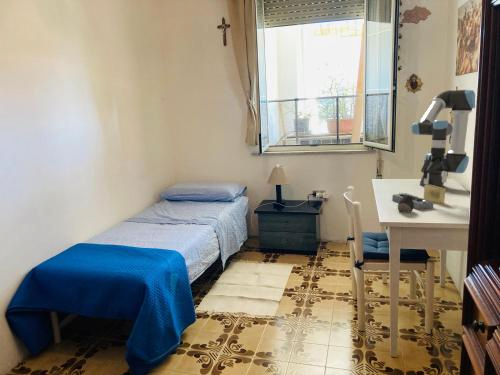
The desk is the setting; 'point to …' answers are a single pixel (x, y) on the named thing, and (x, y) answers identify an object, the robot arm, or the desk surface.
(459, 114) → the robot arm
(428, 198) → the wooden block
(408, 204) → the stone
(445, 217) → the desk surface
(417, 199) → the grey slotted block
